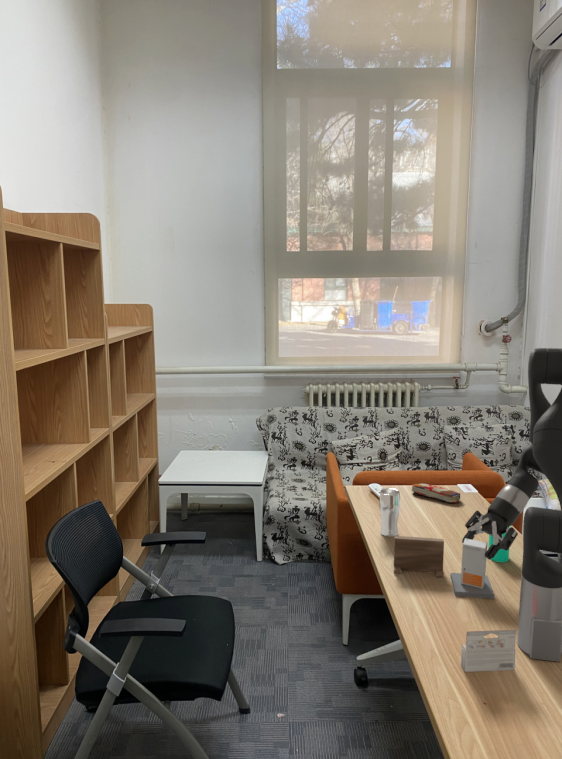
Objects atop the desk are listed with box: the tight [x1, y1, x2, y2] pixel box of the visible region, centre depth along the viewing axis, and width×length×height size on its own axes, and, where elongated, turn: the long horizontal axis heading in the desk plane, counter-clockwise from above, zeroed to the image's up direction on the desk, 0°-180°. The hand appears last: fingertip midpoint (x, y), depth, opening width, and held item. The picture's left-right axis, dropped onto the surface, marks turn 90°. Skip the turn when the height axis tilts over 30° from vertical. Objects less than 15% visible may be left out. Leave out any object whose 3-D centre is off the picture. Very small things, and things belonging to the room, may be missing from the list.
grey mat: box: [450, 572, 495, 600], centre depth 146 cm, size 10×10×1 cm
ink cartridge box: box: [460, 629, 517, 673], centre depth 113 cm, size 2×11×10 cm, turn 92°
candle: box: [488, 526, 511, 563], centre depth 161 cm, size 6×6×12 cm
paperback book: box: [411, 482, 461, 504], centre depth 211 cm, size 11×20×5 cm, turn 34°
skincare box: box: [461, 538, 488, 589], centre depth 145 cm, size 6×4×12 cm
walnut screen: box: [393, 535, 445, 578], centre depth 154 cm, size 6×14×10 cm, turn 79°
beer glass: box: [379, 487, 401, 538], centre depth 179 cm, size 7×7×15 cm
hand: (475, 550), depth 145 cm, fingers open, 8 cm apart
